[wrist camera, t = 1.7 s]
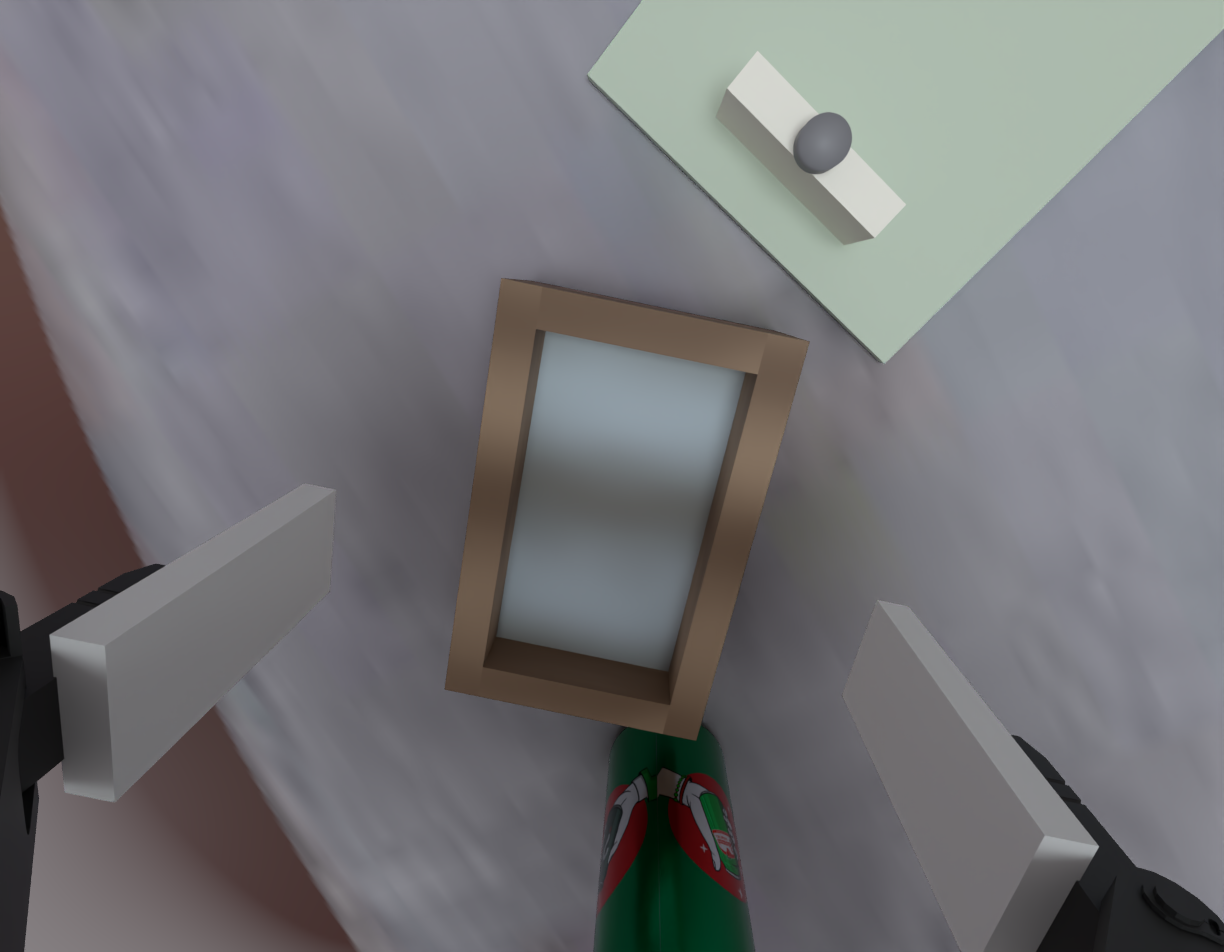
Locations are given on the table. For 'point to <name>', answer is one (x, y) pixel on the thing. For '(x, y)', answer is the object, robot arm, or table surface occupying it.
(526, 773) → the table surface
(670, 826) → the soda can
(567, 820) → the table surface
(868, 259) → the wall board
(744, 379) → the brown wooden open box
